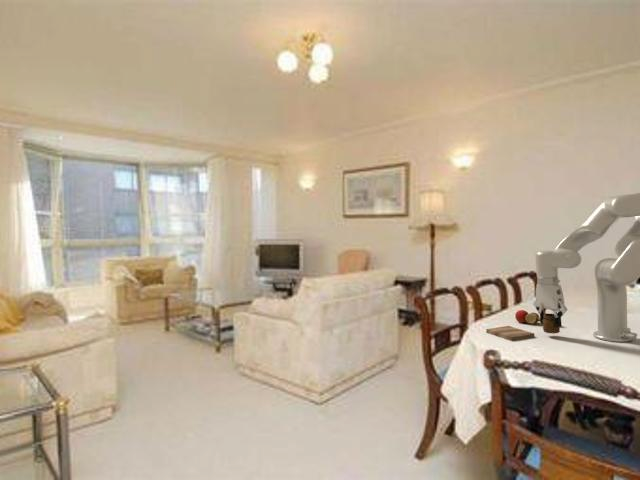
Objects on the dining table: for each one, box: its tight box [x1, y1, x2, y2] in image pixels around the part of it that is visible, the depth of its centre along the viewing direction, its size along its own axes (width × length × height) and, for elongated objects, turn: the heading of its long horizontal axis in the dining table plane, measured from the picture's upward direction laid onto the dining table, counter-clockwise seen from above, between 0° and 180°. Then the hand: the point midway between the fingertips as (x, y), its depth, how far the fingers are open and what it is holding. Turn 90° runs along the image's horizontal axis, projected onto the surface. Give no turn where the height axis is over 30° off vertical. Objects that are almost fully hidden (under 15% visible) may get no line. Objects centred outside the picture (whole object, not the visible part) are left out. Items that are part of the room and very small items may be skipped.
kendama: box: [514, 309, 540, 324], centre depth 185 cm, size 8×6×18 cm
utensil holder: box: [541, 304, 561, 335], centre depth 165 cm, size 6×6×12 cm
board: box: [485, 325, 535, 342], centre depth 170 cm, size 14×12×2 cm
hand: (550, 324), depth 164 cm, fingers closed on utensil holder, 5 cm apart
